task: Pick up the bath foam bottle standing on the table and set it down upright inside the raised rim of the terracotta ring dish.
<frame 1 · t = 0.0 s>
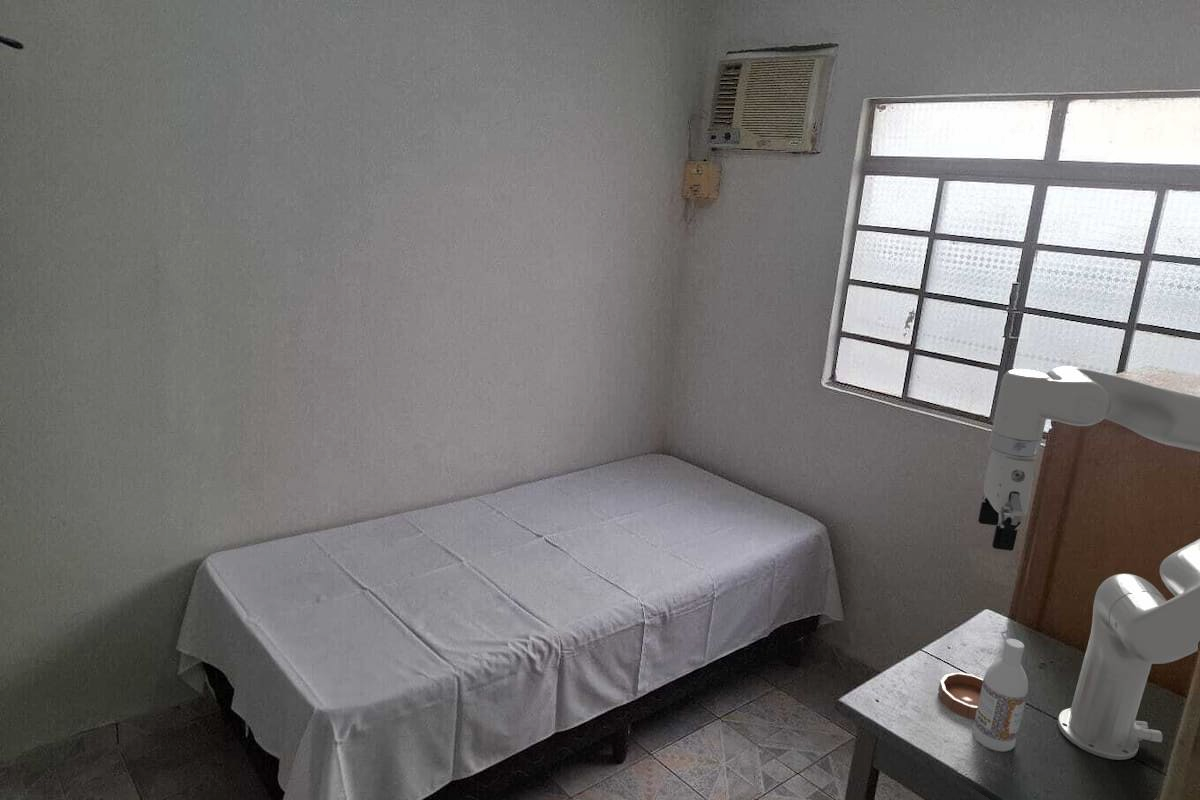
hand: (994, 535, 138), 37 cm above the table, tool pointing down, fingers open, 9 cm apart
bath foam: (992, 740, 142), on the table
ring dish: (968, 701, 152), on the table
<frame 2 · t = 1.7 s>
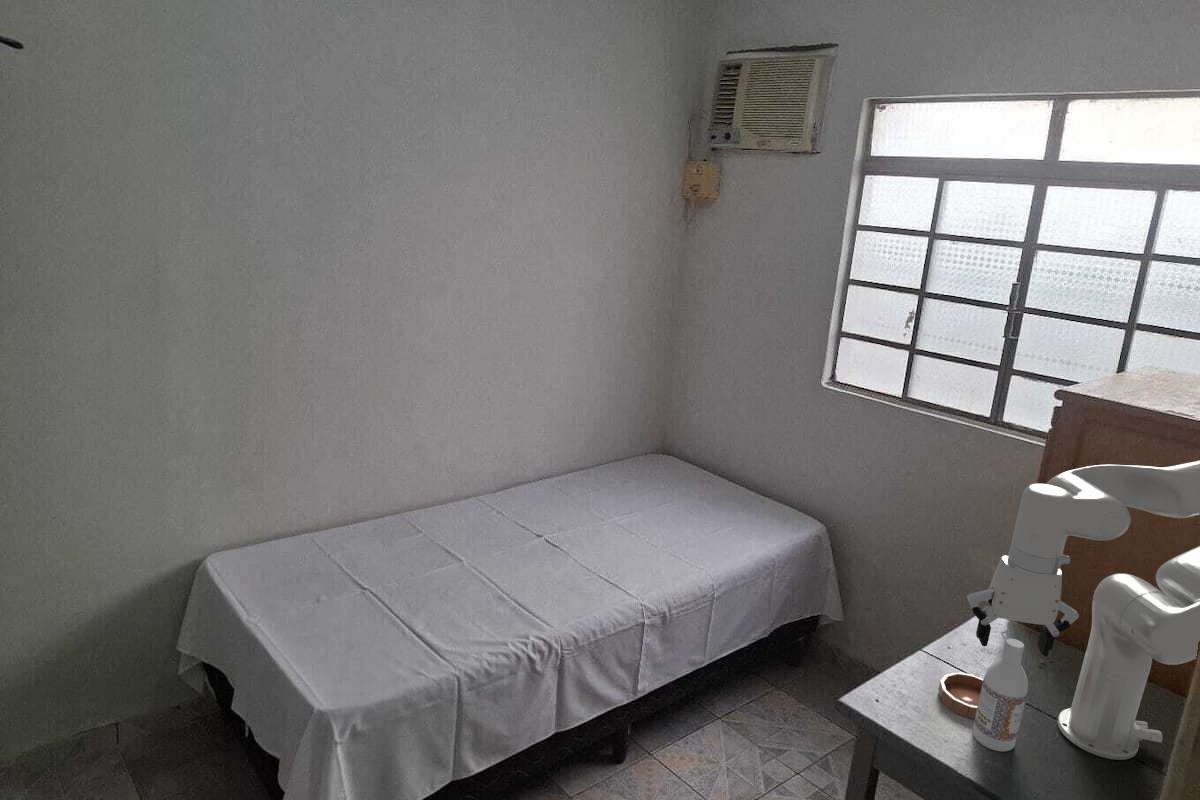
hand: (1012, 646, 136), 19 cm above the table, tool pointing down, fingers open, 9 cm apart
nothing on the table moved.
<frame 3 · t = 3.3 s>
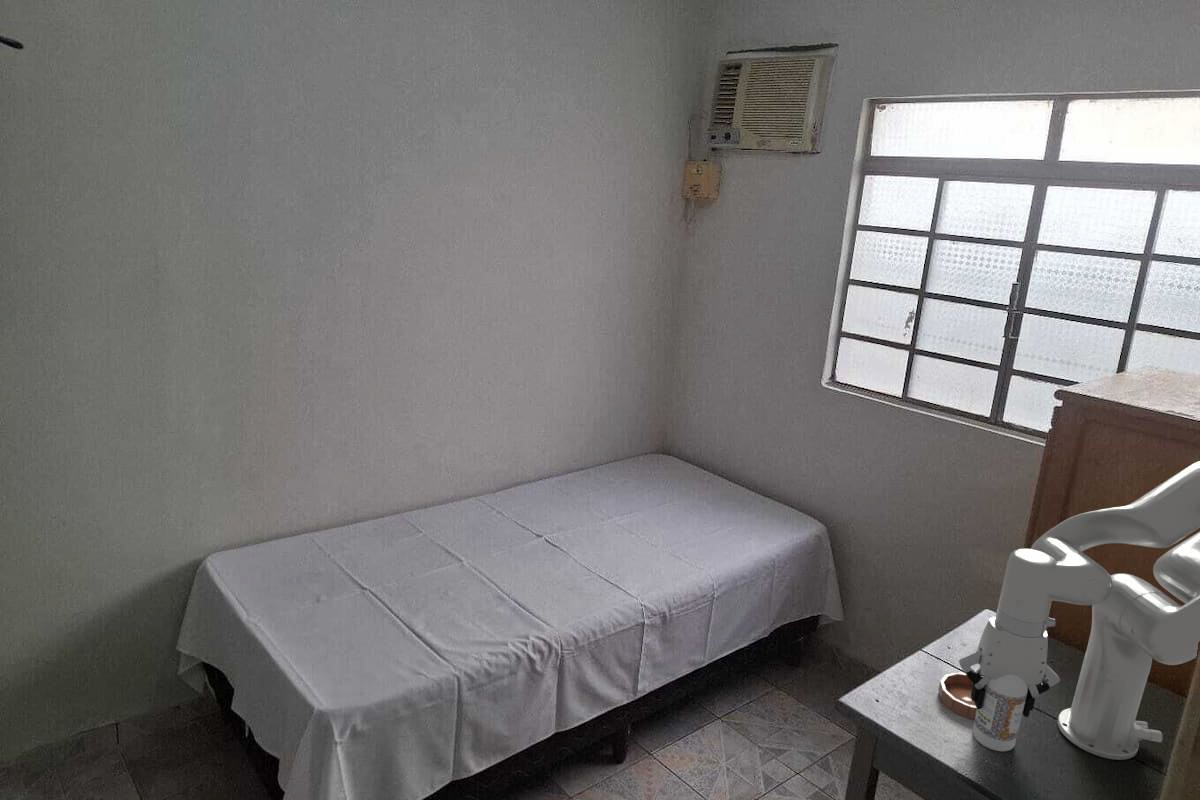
hand: (1000, 707, 140), 7 cm above the table, tool pointing down, fingers closed on bath foam, 7 cm apart
bath foam: (992, 740, 142), on the table, touching gripper
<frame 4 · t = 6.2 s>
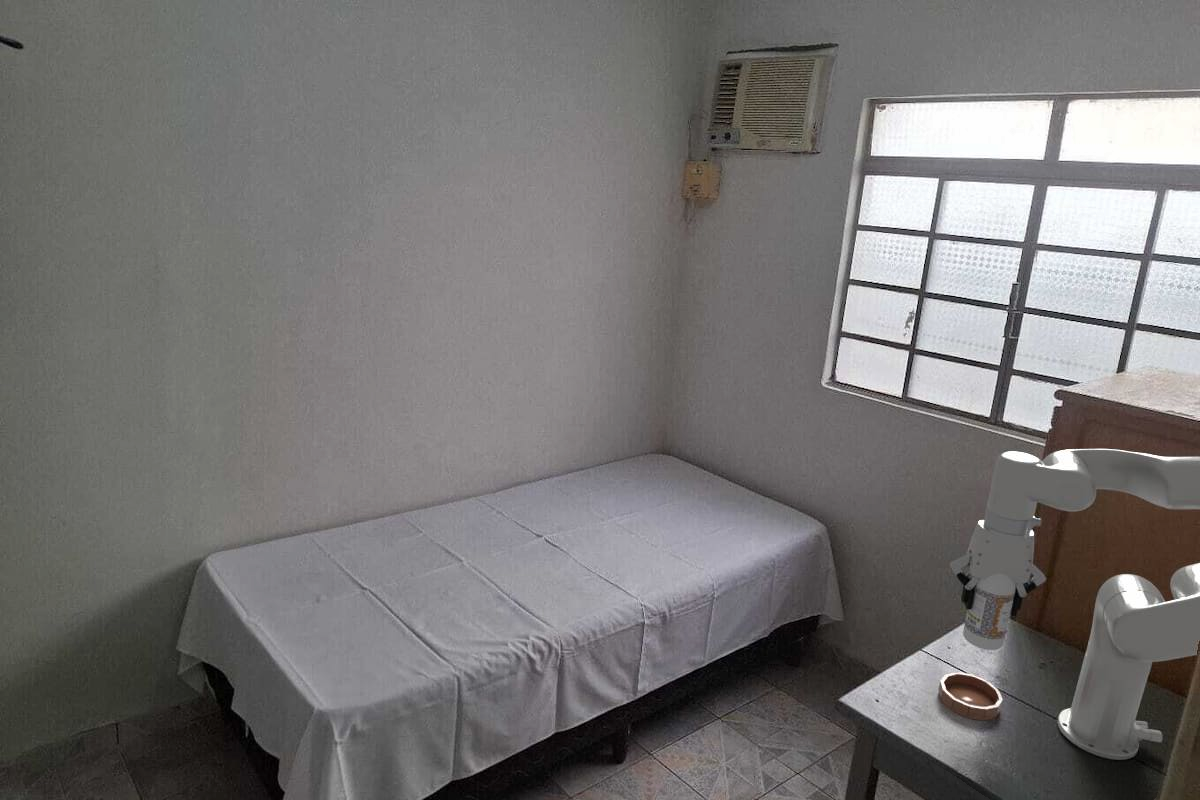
hand: (989, 608, 146), 20 cm above the table, tool pointing down, fingers closed on bath foam, 7 cm apart
bath foam: (982, 641, 148), point 13 cm above the table, touching gripper
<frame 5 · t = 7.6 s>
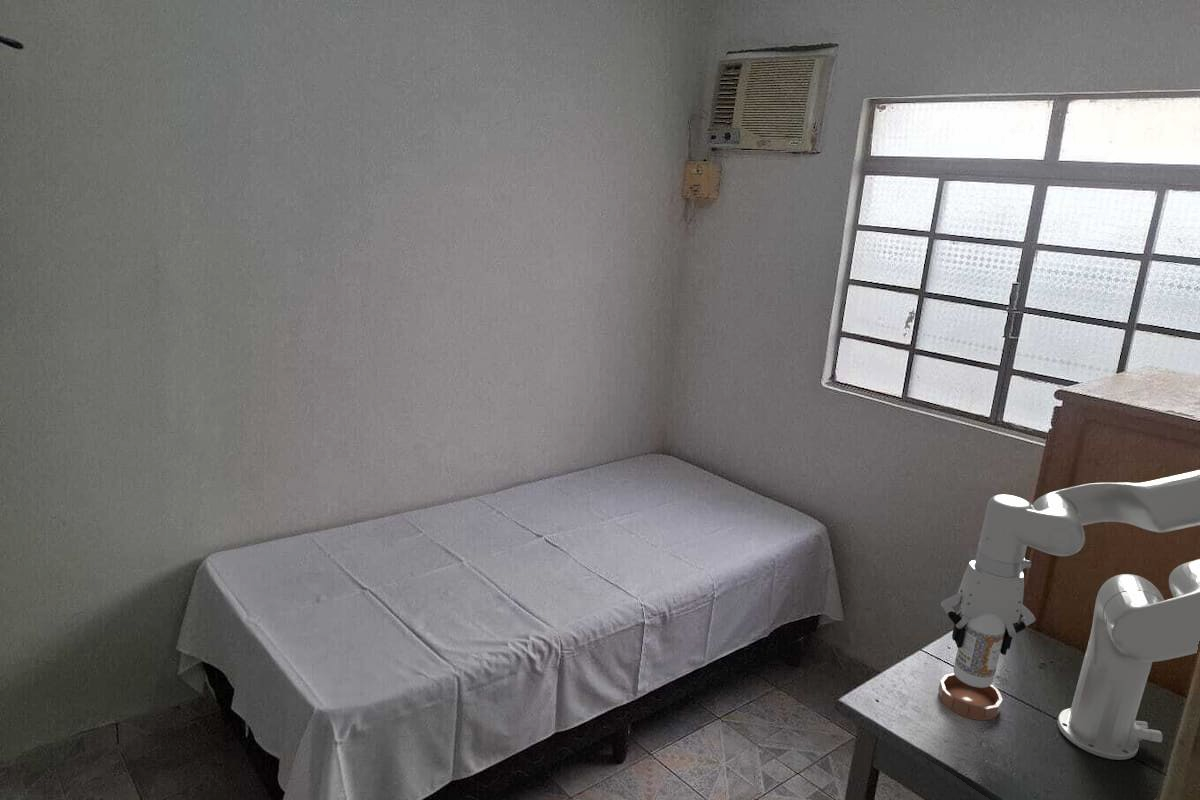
hand: (979, 646, 148), 12 cm above the table, tool pointing down, fingers closed on bath foam, 7 cm apart
bath foam: (972, 678, 151), point 5 cm above the table, touching gripper
when the fingers open (9 cm above the table, at t = 8.9 s): bath foam drops 1 cm, resting on ring dish.
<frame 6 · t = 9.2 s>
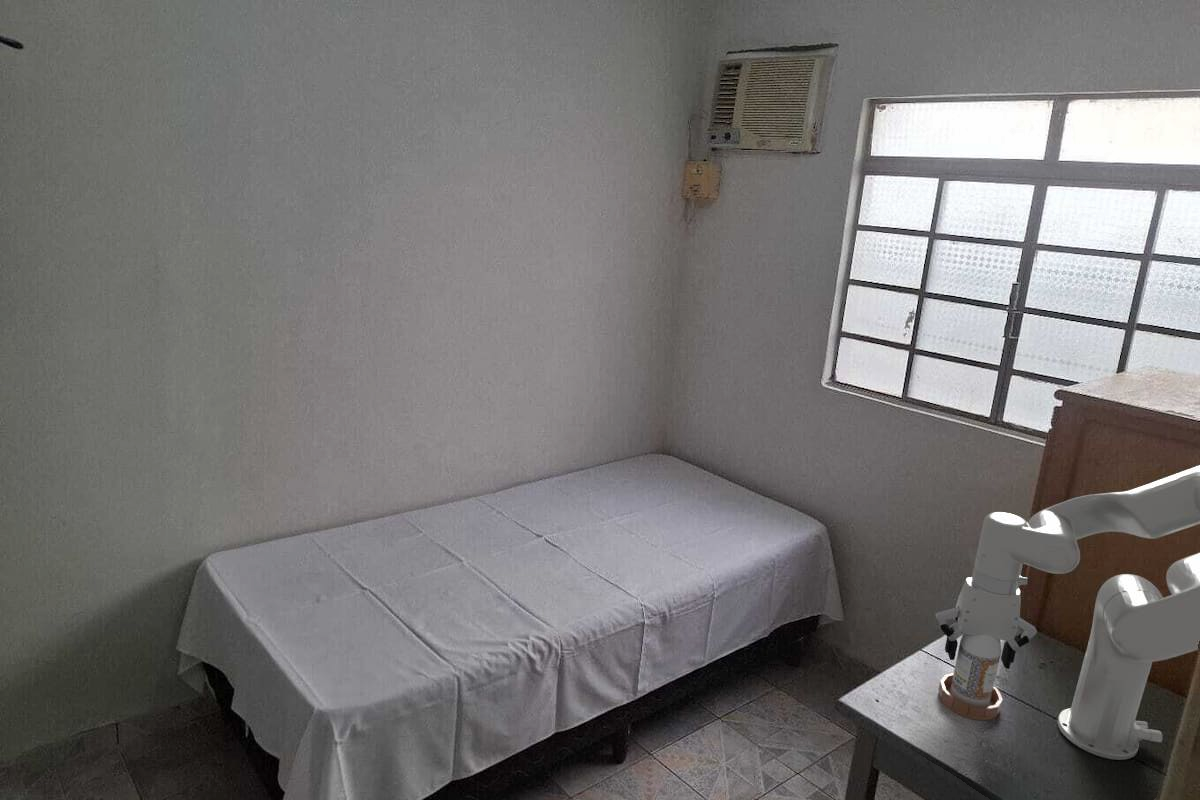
hand: (977, 660, 149), 9 cm above the table, tool pointing down, fingers open, 9 cm apart
bath foam: (969, 700, 152), resting on ring dish
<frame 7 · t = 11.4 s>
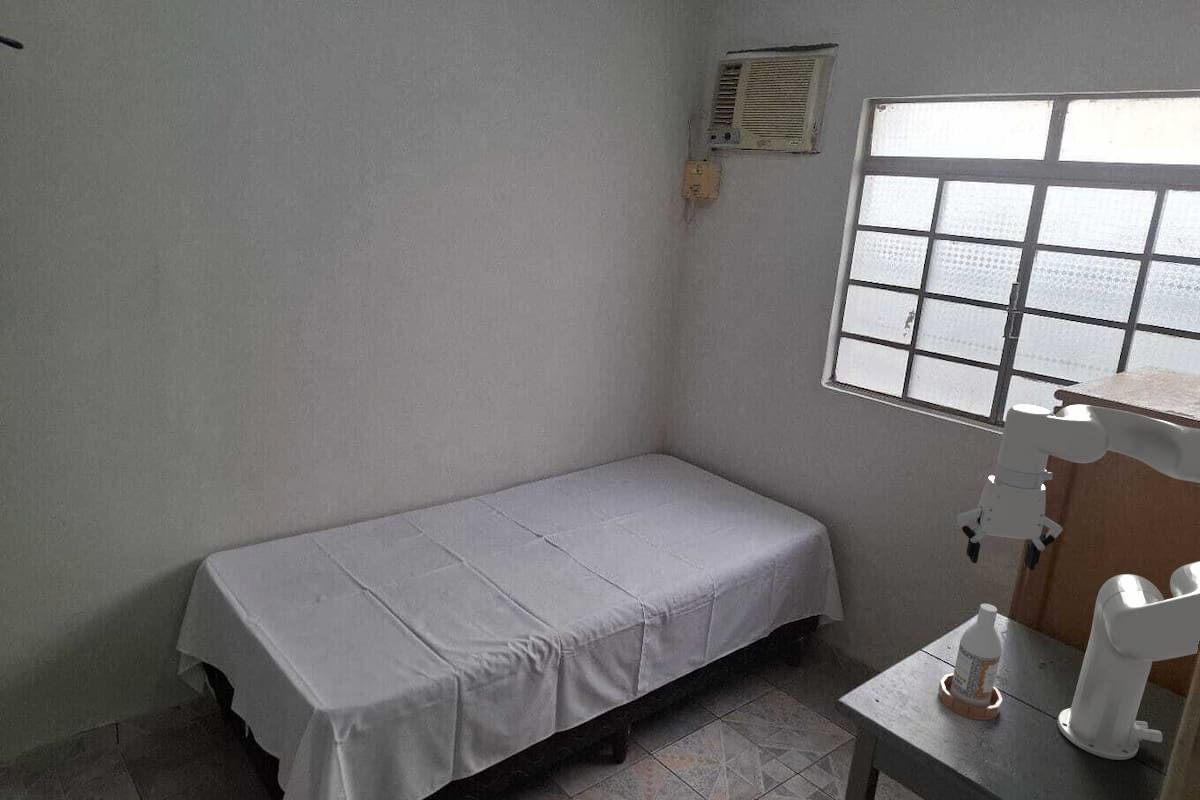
hand: (1000, 563, 144), 29 cm above the table, tool pointing down, fingers open, 9 cm apart
nothing on the table moved.
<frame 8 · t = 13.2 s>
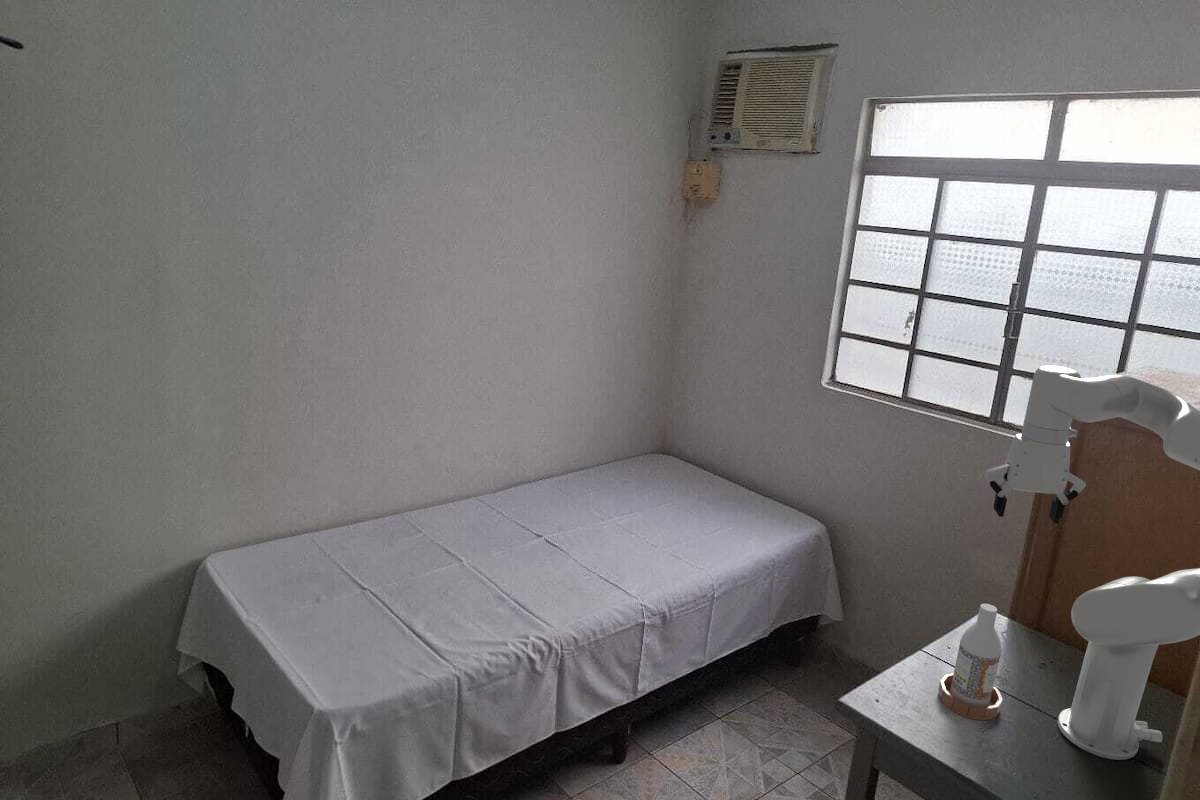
hand: (1026, 517, 152), 34 cm above the table, tool pointing down, fingers open, 9 cm apart
nothing on the table moved.
at the end: bath foam 0.1 cm off-centre on the ring dish, point 0.4 cm above the ring dish's base; bath foam tilted 0°; the gripper is holding nothing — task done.
